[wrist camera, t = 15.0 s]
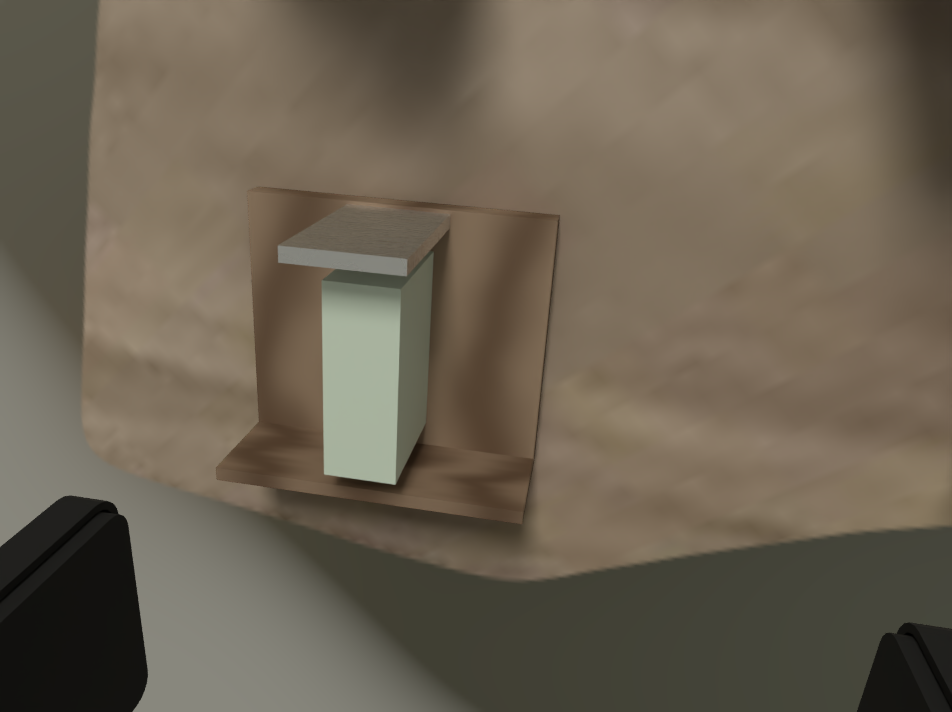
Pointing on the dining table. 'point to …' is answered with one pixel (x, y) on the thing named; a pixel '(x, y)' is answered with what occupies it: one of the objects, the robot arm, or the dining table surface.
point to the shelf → (450, 352)
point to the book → (374, 369)
